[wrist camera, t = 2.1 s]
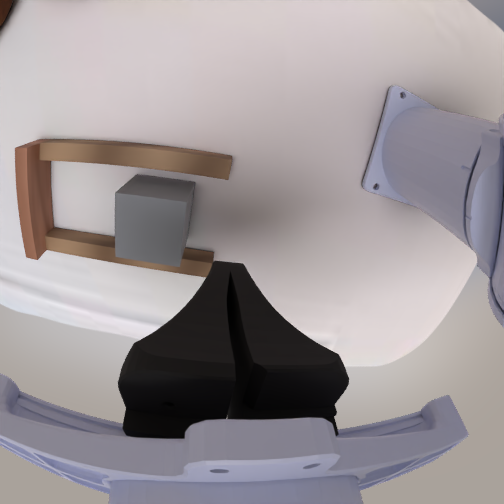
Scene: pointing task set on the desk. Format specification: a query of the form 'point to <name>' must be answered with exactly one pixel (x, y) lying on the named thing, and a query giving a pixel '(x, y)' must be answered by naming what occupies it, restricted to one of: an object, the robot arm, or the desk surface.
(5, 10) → the wooden figurine
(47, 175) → the channel
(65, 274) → the desk surface
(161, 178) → the grey cube
